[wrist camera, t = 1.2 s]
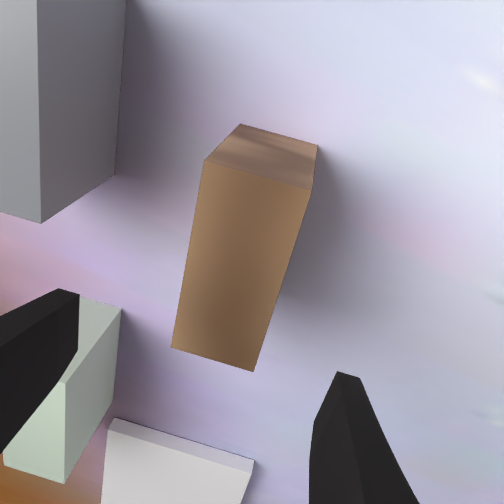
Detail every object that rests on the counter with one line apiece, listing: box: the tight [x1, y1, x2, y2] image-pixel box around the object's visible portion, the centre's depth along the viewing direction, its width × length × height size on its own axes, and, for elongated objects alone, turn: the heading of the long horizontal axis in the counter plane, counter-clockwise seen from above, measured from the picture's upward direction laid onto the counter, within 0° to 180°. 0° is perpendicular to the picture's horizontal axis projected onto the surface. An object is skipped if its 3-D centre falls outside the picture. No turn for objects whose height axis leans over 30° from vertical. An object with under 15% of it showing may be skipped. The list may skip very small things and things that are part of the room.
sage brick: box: [3, 296, 122, 484], centre depth 24 cm, size 4×8×6 cm, turn 167°
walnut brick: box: [171, 124, 318, 372], centre depth 18 cm, size 4×8×6 cm, turn 167°
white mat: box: [101, 417, 254, 504], centre depth 32 cm, size 10×13×1 cm
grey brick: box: [0, 0, 127, 224], centre depth 16 cm, size 4×8×6 cm, turn 167°
